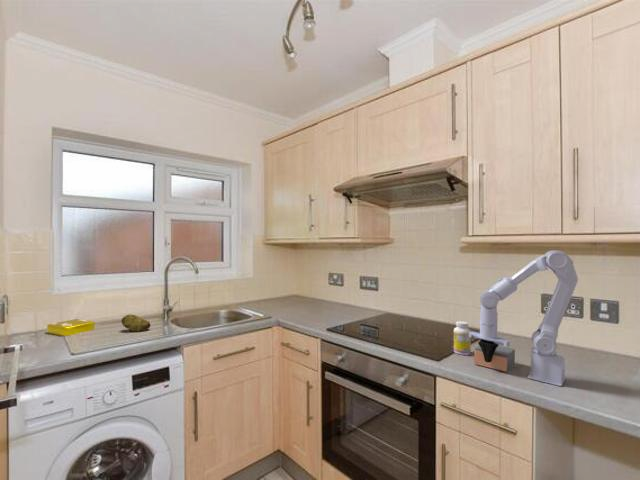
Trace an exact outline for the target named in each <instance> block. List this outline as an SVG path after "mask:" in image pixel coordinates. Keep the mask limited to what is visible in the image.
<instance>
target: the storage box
mask: <svg viewBox="0 0 640 480" xmlns="http://www.w3.org/2000/svg"><path fill="white" fill-rule="evenodd" d="M474 349H475V350H476V351H481V352H482V349H481V347H480V345H478V346H476V347H475V348H474ZM475 350H474V351H475ZM515 350H516V349H515V348H511V347H504V346H502V345H498V347H497V348H496V350H495V352H494V355H499V356H503V357H507V372H506V373H508V372H509V371H510V370H511V369H512V368H513V367H514V366H515V363H516V362H515V361H516V360H515V358H516V354H515V353H516V351H515Z"/></svg>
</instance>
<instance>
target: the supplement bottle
mask: <svg viewBox="0 0 640 480" xmlns="http://www.w3.org/2000/svg"><path fill="white" fill-rule="evenodd" d="M455 325H456V327H454V328H453V352H454V353H455V354H458V355H461V356H469V355H471V352H472V348H471V347H472V344H471V342H472V341H471V340H472V337H469V332H472V330H470V328H468V327H469V323H468V322H466V321H462V320H461V321H459V320H457V321H456V322H455Z"/></svg>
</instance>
